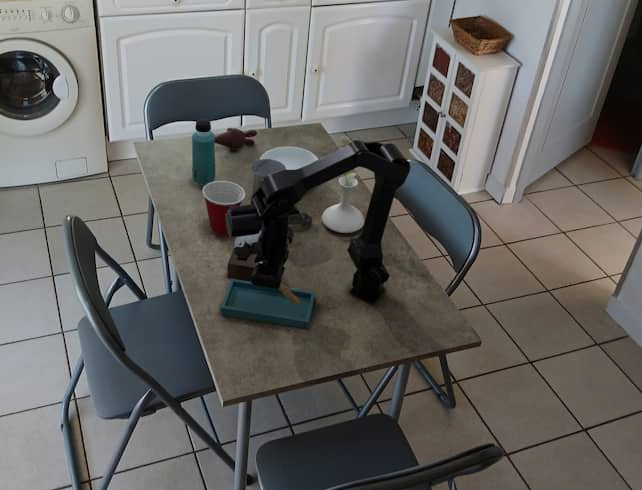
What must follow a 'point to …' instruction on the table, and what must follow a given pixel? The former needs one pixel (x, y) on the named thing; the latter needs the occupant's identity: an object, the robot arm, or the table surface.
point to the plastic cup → (221, 203)
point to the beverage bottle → (203, 153)
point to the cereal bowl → (290, 157)
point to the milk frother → (258, 174)
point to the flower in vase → (344, 206)
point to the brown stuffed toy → (235, 138)
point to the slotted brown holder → (242, 266)
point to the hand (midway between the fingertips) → (271, 284)
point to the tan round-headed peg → (288, 293)
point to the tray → (267, 304)
